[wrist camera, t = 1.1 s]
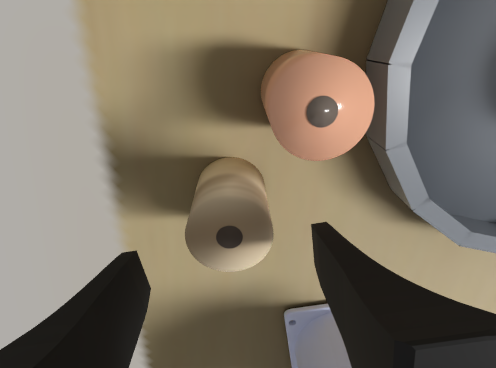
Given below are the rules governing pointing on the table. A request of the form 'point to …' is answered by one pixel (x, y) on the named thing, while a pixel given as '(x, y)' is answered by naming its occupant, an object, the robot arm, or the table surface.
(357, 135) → the terracotta bead
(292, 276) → the table surface
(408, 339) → the robot arm
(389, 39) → the groove tray
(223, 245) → the birch bead
